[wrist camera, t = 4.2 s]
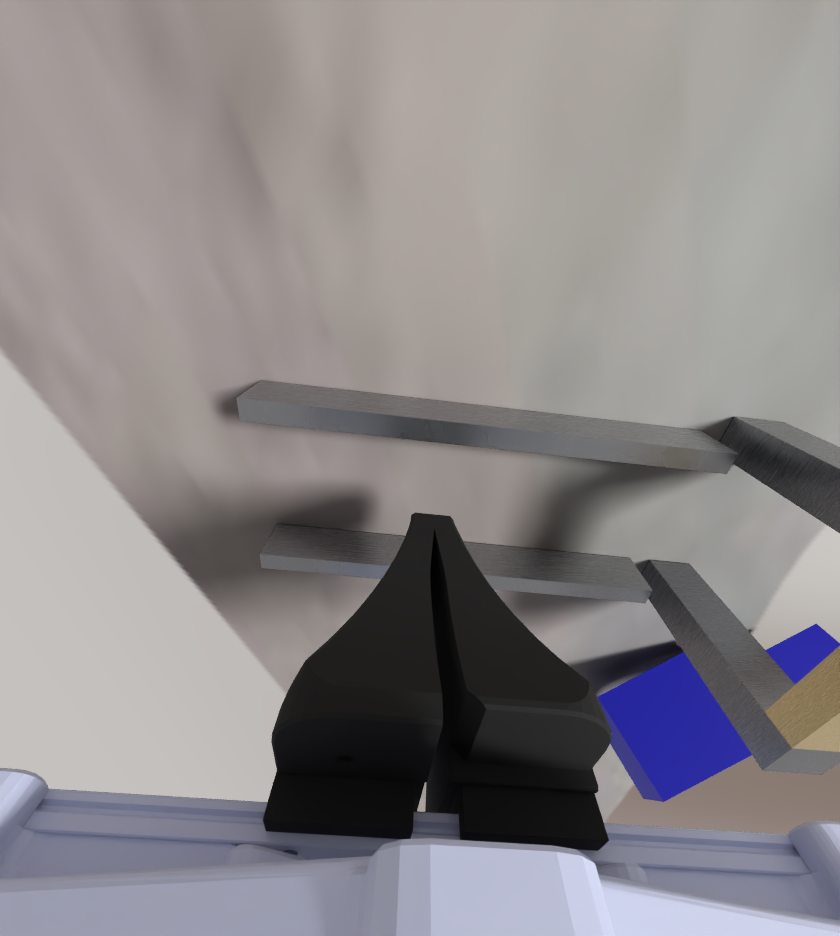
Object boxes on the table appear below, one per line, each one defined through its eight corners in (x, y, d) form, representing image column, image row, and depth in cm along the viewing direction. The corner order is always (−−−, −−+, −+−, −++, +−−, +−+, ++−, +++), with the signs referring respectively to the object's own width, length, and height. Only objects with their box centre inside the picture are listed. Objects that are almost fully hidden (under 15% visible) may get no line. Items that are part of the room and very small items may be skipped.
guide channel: (623, 570, 18) (645, 603, 16) (278, 536, 17) (261, 568, 15) (700, 430, 14) (739, 454, 12) (261, 380, 13) (236, 397, 12)
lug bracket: (675, 585, 18) (821, 774, 12) (637, 581, 18) (762, 770, 11) (783, 422, 14) (1128, 575, 7) (734, 416, 14) (1034, 566, 7)
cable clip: (597, 696, 20) (591, 712, 24) (663, 801, 17) (643, 798, 21) (786, 598, 20) (747, 631, 24) (886, 683, 17) (821, 704, 21)
